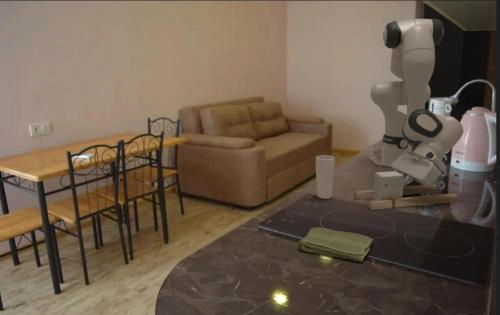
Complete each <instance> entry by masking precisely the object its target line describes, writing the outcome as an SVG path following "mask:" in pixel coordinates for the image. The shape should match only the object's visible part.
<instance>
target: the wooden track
mask: <svg viewBox="0 0 500 315" xmlns="http://www.w3.org/2000/svg"><path fill="white" fill-rule="evenodd" d="M437 188H438V185H436V184H434V183H432V184H431V185H429V186H425V185H422V184H420V185H419V184H417V185H410V186H408V185H406V186H404V188H403V194H402V196H407V195H408V196H409V195H419V194H427V195H420V196H409V197H402V198H396V199H395V198H393V197H389V199H385V200H375V201H374V200H369V201H368V209H370V210H371V211H375V210H376V211H377V210H386V209H387V210H388V209H396V208H397V209H399V208H407V207H416V206H419V207H420V206H429V205H437V204H446V203H449V204H450V203H457V201H458V194H456V193H454V192H452V193H451V192H450V193H441V194H433V193H436V192H437V190H438V189H437ZM428 193H432V194H431V195H428ZM353 194H354V196H353V197H354V199H355V200H365V199H374V187H373V188H372V189H364V190H354V191H353Z"/></svg>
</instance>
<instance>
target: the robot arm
mask: <svg viewBox="0 0 500 315" xmlns="http://www.w3.org/2000/svg"><path fill="white" fill-rule="evenodd" d="M443 37H444V25H443V22H442V21H441V19H437V18H413V19H406V20H400V21H399V20H398V21H396V20H394V21H391V22H388V23H387V24H386V25H385V27H384V29H383V32H382V40H383V43H384V46H385V47H386V48H387V49H392V50H391V58H390V66H389V69H390V72H391V74H393V75H394V76H395V77H397V78H398V79H401V80H393V81H392V80H390V81H389V80H388V81H387V80H385V81H380V82H376V83H375V84H374V85H373V86H372V87H371V90H370V98H371V100H372V102H373V103H374V104H375V105H376V106H378V108H380V110H381V111H382V114H383V116H384V123H385V125H384V130H385V131H384V132H385V133H384V134H383V135H382V142H380V143H379V144H378V145H377V146H375V147H374V149H373V155H371V156H369V157H368V159H369V160H370V161H371V162H373V163H374V164H375V165H376V166H379V167H380V166H381V167H390V168H391V169H392V170H393V171H396V172H398V173H400V174H402V175H404V180H403V188H404V187H406V186H408V185H409V184H411V183H412V182H417V183H418V184H420V185H425V186H429V185H431V184H434V183H435V181H436V180H437V179H438V178H439V177H440V176H441V174H442V172H444V171H446V170H447V166H446V165H445V163H444V162H443V161H442V160H443V158H444V157H445V155H446V153H448V152H449V151H451V150H452V149H453V148H454V147H455V145H456V144H457V143H458V142H459V141H460V139H461V138H462V137H463V134H464V126H463V125H462V123H461V122H460V121H459V120H458V119H457V118H455V117H453V116H450V115H449V116H448V115H440V114H438V113H435V112H433V111H431V110H429V109H426V103H427V102H428V100H429V99H430V97H431V94H432V92H431V87H430V85H429V82H430V80H431V77H432V76H433V73H434V69H435V62H436V53H435V52H436V48H435V46H437V45H440V43H441V42H442V39H443ZM398 106H406V113H404V112H402V111H401V110H399V109H398V108H399V107H398ZM411 144H412V145H417V146H416V147H415V149H414V150H413V147H412V145H411Z"/></svg>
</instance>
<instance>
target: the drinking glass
mask: <svg viewBox="0 0 500 315" xmlns="http://www.w3.org/2000/svg"><path fill="white" fill-rule="evenodd" d="M335 160H336V158H335V156H332V155H328V154H327V155H326V154H325V155H322V154H321V155H317V156H316V157H315V176H316V179H315V180H316V196H317V197H318V198H319V199H323V200H326V199H327V200H328V199H330V198H332V196H333V186H334V179H335V178H334V176H335V168H336V161H335Z"/></svg>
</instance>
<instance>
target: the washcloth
mask: <svg viewBox="0 0 500 315" xmlns="http://www.w3.org/2000/svg"><path fill="white" fill-rule="evenodd" d="M373 241H374V239H373V238H371V237H369V236H367V235H363V234H360V233H356V232H348V231H342V230H341V231H338V230H334V229H331V228H325V227H318V226H317V227H312V228H310V229H309V231H308V232H307V234H306V235H305V236H304V237H303V238H302V239H300V240H299V242H298V244H297V248H298V249H299V250H300V251H302V252H306V253H310V254H313V255H314V254H315V255H321V256H323V257H324V256H325V257H333V258H339V259H344V260H351V261H353V262H360V263H362V262H364V261H363V260H364V259H365V257H366V255H367V254H368V253H369V251H370V247H371V246H372V244H373Z"/></svg>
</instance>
